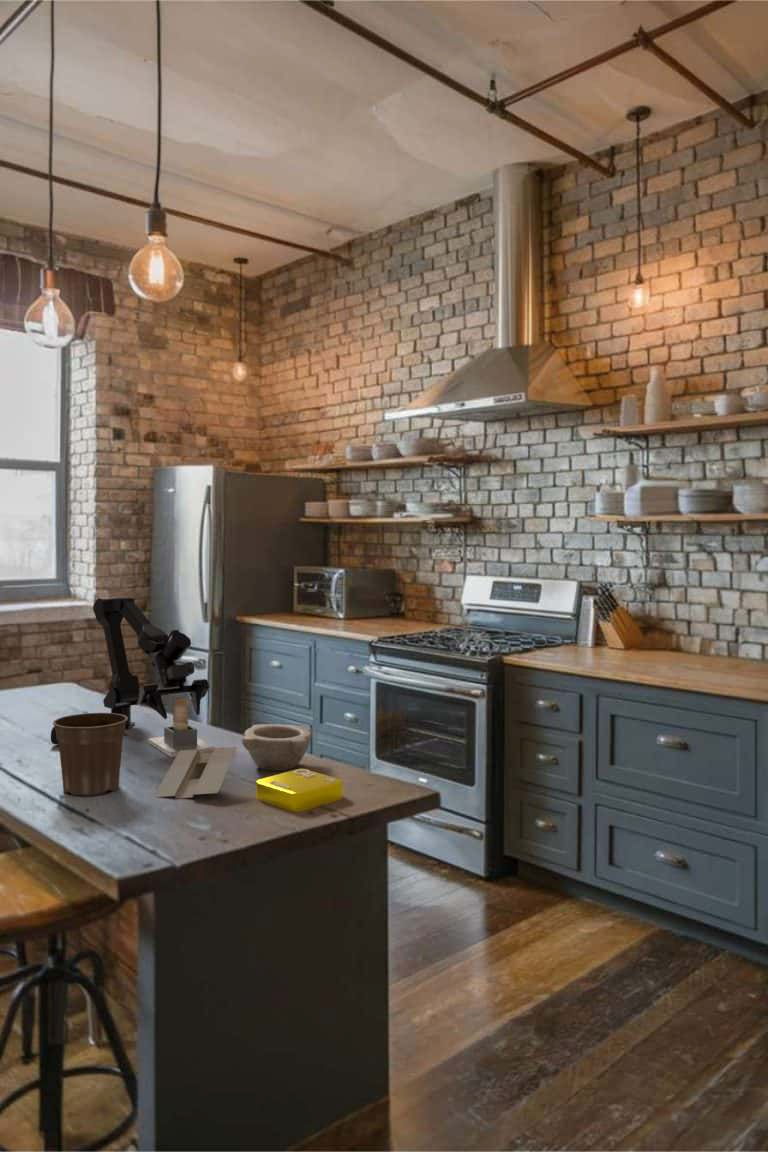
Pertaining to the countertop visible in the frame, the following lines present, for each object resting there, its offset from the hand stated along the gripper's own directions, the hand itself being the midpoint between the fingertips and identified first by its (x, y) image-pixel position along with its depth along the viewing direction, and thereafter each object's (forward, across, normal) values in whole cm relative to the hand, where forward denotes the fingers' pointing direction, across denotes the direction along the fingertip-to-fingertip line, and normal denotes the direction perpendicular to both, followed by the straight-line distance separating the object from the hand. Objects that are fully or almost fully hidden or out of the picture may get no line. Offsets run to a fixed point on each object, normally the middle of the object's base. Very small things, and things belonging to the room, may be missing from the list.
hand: (182, 716), depth 235 cm
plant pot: (+23, -31, -10) cm, 40 cm away
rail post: (+4, 0, +6) cm, 8 cm away
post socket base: (+5, 0, +7) cm, 9 cm away
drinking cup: (-11, -29, +20) cm, 36 cm away
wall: (+34, -11, -21) cm, 41 cm away
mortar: (+27, +14, -15) cm, 34 cm away
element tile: (+45, +6, -32) cm, 56 cm away
